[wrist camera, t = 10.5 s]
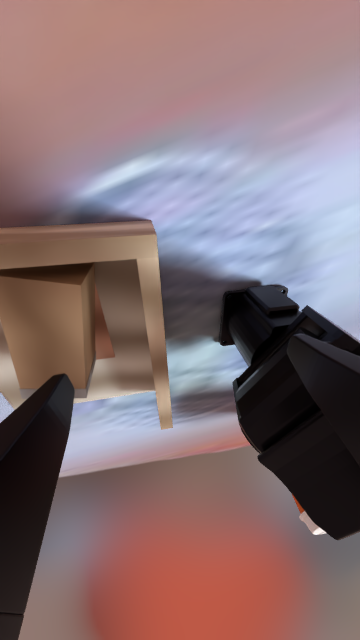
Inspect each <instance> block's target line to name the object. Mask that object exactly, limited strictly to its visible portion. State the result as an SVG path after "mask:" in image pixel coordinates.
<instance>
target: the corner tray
mask: <svg viewBox="0 0 360 640" xmlns="http://www.w3.org/2000/svg"><path fill="white" fill-rule="evenodd" d="M89 262H95V351H96V362H95V366H94V370H93V374H92V378H91V382H90V386H89V390H88V394H87V398H74V403H80V402H86V401H93V400H99V399H106V398H112V397H118V396H125V395H131V394H137V393H144V392H150V391H156V398H157V405H158V412H159V419H160V426H161V430H163V429H168V428H173V425H172V413H171V401H170V390H169V378H168V366H167V354H166V342H165V330H164V319H163V307H162V295H161V283H160V271H159V259H158V248H157V236H156V232H155V229H154V227H153V224H152V221H151V220H144V221H125V222H106V223H87V224H68V225H49V226H30V227H11V228H0V269H10V268H23V267H36V266H49V265H63V264H76V263H89ZM19 389H20V386H19V383H18V379H17V376H16V372H15V369H14V365H13V362H12V358H11V355H10V351H9V348H8V344H7V341H6V337H5V334H4V330H3V327H2V323H1V320H0V392H1V393H2V394H3V396H4V397H5V398H6V399H7V401H8V402H9V403H10V404H11V406H12V407H13V408H14V409H17V408H18V407H19V406H20V405H21V404H22V403H23V402H24V401H25V400H26V399H22V398H21V394H20V391H19ZM74 403H73V404H74Z"/></svg>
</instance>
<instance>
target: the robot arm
mask: <svg viewBox="0 0 360 640" xmlns="http://www.w3.org/2000/svg"><path fill="white" fill-rule="evenodd" d="M282 290H283V292H281V291H282ZM287 293H288V288H286V287H285V286H275V287H274V286H272V285H270V286H260V287H250V288H247V289H246V290H236V291H228V292H226V293H225V294H224V297H223V307H222V317H221V327H220V337H219V342H220V344H221V345H222V346H227V345H234V344H235V345H236V347H237V349H238V350H239V352H240V354H241V355H242V357H243V359H244V360H245V362H246V363H247V365H248V368H247V369H246V370H245V371H244V373H243V374H242V375H241V376H240V377H239V378H236V379H235V380H234V381H233V389H234V395H235V402H236V409H237V415H238V421H239V425H240V427H241V430H242V432H243V434H244V435H245V437H246V439H247V440H248V441H249V443H250V444H251V445H252V446H253V447H254V448H255V450H256V451H257V452H259V453H260V454H259V455H258V460H259V461H260V463H262V464H263V465H264V466H265V467H267V468H268V469H269V470H270V471H272V472H273V473H274V474H275V475H276V476H277V477H278V478H279V479H280V480H281V481H282V482H283V484H284V485H285V486H286V487H287V488H288V489H289V491H290V492H291V493H292V494H293V496H294V497H295V498H296V500H297V501H298V502H299V504H300V505H301V507H302V508H303V509H304V511H305V512H306V513H307V515H308V516H309V517H310V519H311V520H312V521H313V522H314V523H315V524H316V525H317V526H318V527H320V528H321V529H322V530H324V531H325V532H326V533H327V534H329V535H330V536H331V537H333V538H334V539H336V540H341V539H343V538H346V537H348V536H351V535H353V534H356V533H358V532H360V341H359V340H358V339H356V338H355V337H353V336H352V335H351V334H349V333H348V332H346V331H345V330H343V329H342V328H340V327H339V326H337V325H336V324H334V323H333V322H331V321H330V320H328V319H327V318H325V317H324V316H322V315H321V314H319V313H318V312H317V311H315V310H314V309H312V308H311V307H309V306H308V305H307V306H306V307H305V308H304V309H303V310H302V312H300V311H299V306H298V304H297V303H295V302H294V301H293V300H291V299H290V298H288V297H287ZM230 295H231V297H230V298H228V296H230ZM223 341H224V342H223ZM74 395H75V389H74V386H73V384H72V383H71V381H70V379H69V377H68V375H67V374H65V373H62V374H56V375H53V376H52V377H51V378H50V379H48V380H47V381H46V382H45V383H44V384H43V385H42V386H41V387H40V388H39V389H37V390H36V391H35V392H34V393H33V394H32V395H31V396H30V397H29V398H28V399H26V400H25V401H24V402H23V403H22V404H21V405H20V406H19V407H18V408H17V409H15V410H14V411H13V412H12V413H11V414H10V415H9V416H8V417H7V418H6V419H4V420H3V421H2V422H1V423H0V640H18V637H19V634H20V629H21V626H22V622H23V618H24V615H23V614H24V612H25V609H26V604H27V601H28V596H29V593H30V588H31V585H32V581H33V577H34V573H35V569H36V565H37V560H38V557H39V553H40V549H41V545H42V540H43V536H44V533H45V529H46V525H47V521H48V517H49V513H50V509H51V504H52V501H53V497H54V493H55V489H56V484H57V480H58V476H59V472H60V468H61V464H62V460H63V456H64V452H65V448H66V444H67V440H68V436H69V431H70V425H71V417H72V410H73V403H74Z"/></svg>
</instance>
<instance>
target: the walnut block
mask: <svg viewBox="0 0 360 640" xmlns="http://www.w3.org/2000/svg"><path fill="white" fill-rule="evenodd" d="M0 320H1V323H2V327H3V330H4V334H5V337H6V341H7V344H8V348H9V351H10V355H11V358H12V362H13V365H14V369H15V372H16V376H17V379H18V383H19V386H20V389H19V391H20V394H21V398H22V399H28V398H29V397H30V396H31V395H32V394H33V393H34V392H35V391H36V390H37V389H39V388H40V387H41V386H42V385H43V384H44V383H45V382H46V381H47V380H48V379H50V378H51V377H52V376H53V375H56V374H62V373H65V374H67V375H68V377H69V379H70V381H71V383H72V384H73V386H74V389H75V395H74V398H87V394H88V390H89V386H90V382H91V378H92V374H93V370H94V366H95V362H96V351H95V262H89V263H76V264H63V265H49V266H36V267H23V268H10V269H0Z"/></svg>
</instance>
